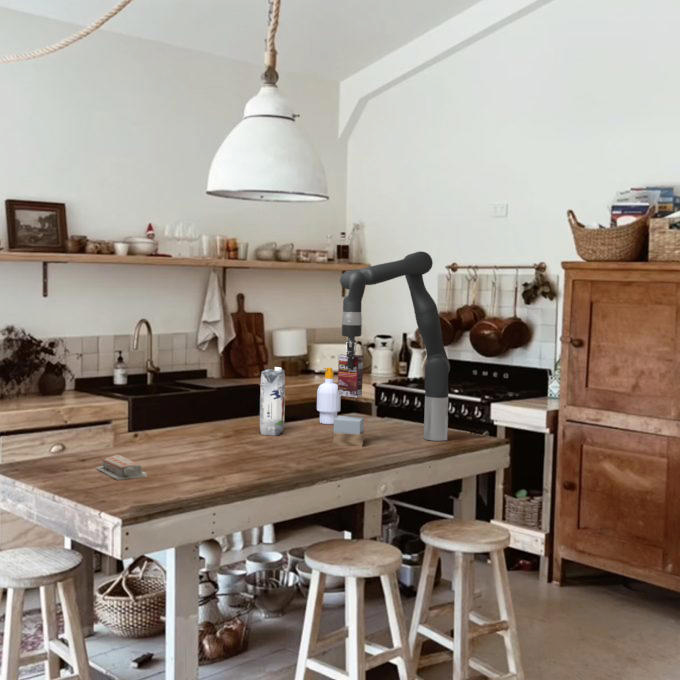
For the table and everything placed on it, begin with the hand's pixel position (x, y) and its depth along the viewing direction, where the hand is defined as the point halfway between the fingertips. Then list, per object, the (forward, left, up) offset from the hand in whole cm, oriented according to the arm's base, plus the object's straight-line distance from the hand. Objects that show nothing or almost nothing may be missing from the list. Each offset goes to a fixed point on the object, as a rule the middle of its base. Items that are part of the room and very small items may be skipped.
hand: (350, 367), depth 336 cm
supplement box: (0, 0, -11) cm, 11 cm away
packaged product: (+69, +63, -30) cm, 98 cm away
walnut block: (0, 0, -30) cm, 30 cm away
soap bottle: (+11, -44, -30) cm, 54 cm away
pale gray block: (0, 0, -25) cm, 25 cm away
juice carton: (+32, -14, -30) cm, 46 cm away
